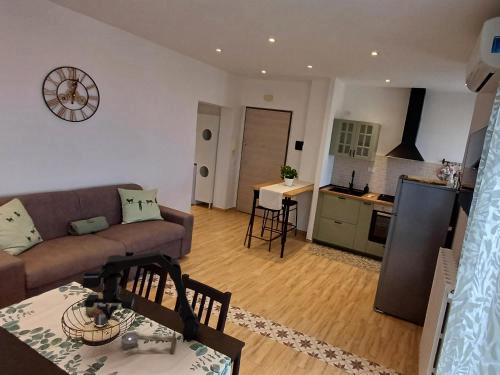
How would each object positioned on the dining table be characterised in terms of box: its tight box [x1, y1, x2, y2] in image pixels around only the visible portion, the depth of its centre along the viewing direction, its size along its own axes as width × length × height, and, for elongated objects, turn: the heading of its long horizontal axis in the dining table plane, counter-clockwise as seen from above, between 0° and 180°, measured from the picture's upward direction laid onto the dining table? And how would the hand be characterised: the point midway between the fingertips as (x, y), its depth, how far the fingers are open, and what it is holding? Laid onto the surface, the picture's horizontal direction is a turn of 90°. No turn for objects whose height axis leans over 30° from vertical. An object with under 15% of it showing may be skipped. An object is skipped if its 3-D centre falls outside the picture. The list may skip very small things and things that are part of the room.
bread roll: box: [85, 291, 103, 317], centre depth 163 cm, size 10×15×8 cm, turn 0°
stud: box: [120, 331, 139, 350], centre depth 141 cm, size 7×7×4 cm
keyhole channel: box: [123, 330, 177, 357], centre depth 143 cm, size 20×14×3 cm
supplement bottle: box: [93, 303, 109, 325], centre depth 152 cm, size 6×6×11 cm
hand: (109, 319), depth 138 cm, fingers closed
